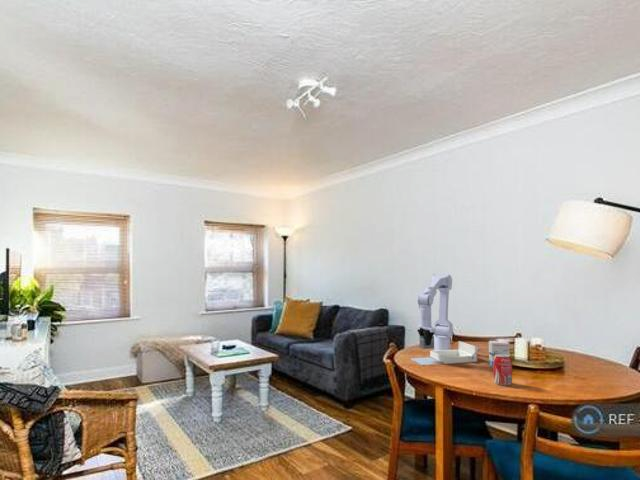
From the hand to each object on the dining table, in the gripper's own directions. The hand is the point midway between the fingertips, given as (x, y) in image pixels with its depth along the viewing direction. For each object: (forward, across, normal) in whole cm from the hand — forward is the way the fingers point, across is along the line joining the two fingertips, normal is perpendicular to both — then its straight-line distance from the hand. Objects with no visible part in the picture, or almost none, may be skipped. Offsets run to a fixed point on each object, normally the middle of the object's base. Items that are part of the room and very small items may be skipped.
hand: (425, 344), depth 202 cm
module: (+2, 0, 0) cm, 2 cm away
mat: (+9, 0, 0) cm, 9 cm away
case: (+9, +1, +16) cm, 18 cm away
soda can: (+9, +41, +13) cm, 44 cm away
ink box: (+9, +16, +31) cm, 36 cm away
